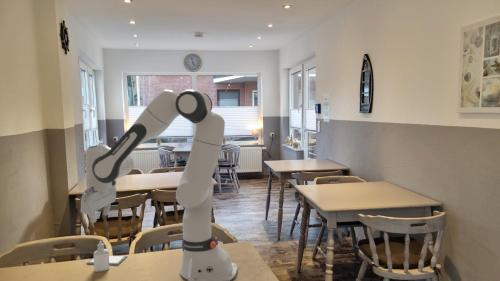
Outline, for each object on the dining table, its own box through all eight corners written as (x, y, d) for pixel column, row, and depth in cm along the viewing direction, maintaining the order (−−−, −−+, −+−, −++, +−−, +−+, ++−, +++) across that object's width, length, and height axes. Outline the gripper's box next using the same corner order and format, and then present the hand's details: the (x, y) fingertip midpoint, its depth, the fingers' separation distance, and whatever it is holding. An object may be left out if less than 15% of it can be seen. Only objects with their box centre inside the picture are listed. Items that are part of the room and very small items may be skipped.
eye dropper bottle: (106, 272, 136) (104, 243, 135) (92, 272, 136) (90, 243, 135) (111, 267, 140) (109, 239, 139) (98, 267, 141) (96, 239, 140)
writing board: (127, 257, 150) (127, 256, 150) (118, 265, 142) (118, 264, 142) (97, 256, 152) (97, 255, 151) (86, 264, 144) (86, 263, 144)
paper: (124, 256, 149) (124, 256, 149) (117, 263, 143) (117, 262, 143) (98, 255, 151) (97, 255, 151) (89, 262, 144) (89, 261, 144)
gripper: (91, 190, 126) (92, 227, 127) (118, 179, 146) (119, 211, 148) (75, 190, 127) (77, 226, 128) (104, 179, 147) (105, 211, 148)
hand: (100, 218), depth 138 cm, fingers open, 8 cm apart
